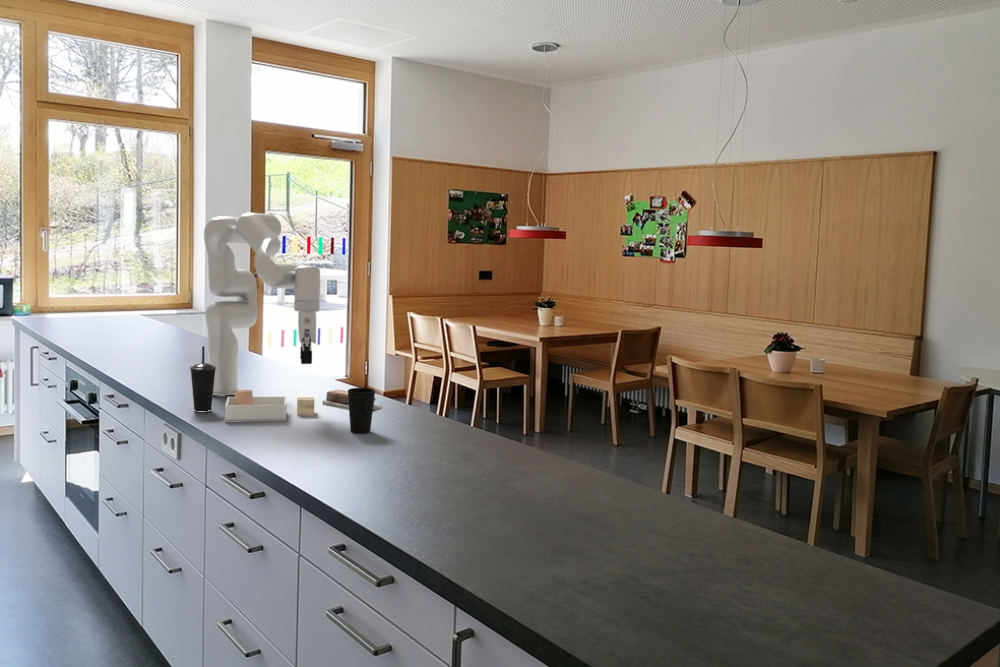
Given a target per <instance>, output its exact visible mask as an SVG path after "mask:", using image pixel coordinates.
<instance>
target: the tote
mask: <svg viewBox="0 0 1000 667" xmlns="http://www.w3.org/2000/svg"><path fill="white" fill-rule="evenodd" d="M225 421H241V422H240V423H281V422H282V423H283V422H284V423H285V422H287V396H253V405H235V396H227V398H226V400H225V405H224V422H225Z"/></svg>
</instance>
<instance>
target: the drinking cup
mask: <svg viewBox="0 0 1000 667" xmlns="http://www.w3.org/2000/svg"><path fill="white" fill-rule="evenodd" d="M189 370H190V378H191V388H192V397H193V398H192V400H193V410H196V411H208V410H211V411H212V407H213V406H212V405H213V398H214V396H213V388H214V379H215V370H216V367H215V366H213V365H211V364H208V363H206V362H205V345H204V346H202V348H201V362H200V363H197V364H194V365H192V366H190V367H189Z"/></svg>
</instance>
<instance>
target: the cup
mask: <svg viewBox="0 0 1000 667" xmlns="http://www.w3.org/2000/svg"><path fill="white" fill-rule="evenodd" d="M347 391H348V401H349V410H348V413H349V416H348V417H349V428H350V429H349V430H350V433H352V434H355V435H357V434H359V435H365V434H370V433H371V428H372V420H373V419H372V418H373V413H374V412H373V411H374V410H373V405H374V404H375V401H374V398H376V397H375V396H376V390H375V389H373V388H370V387H369V388H368V387H351V388H349V389H347Z"/></svg>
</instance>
